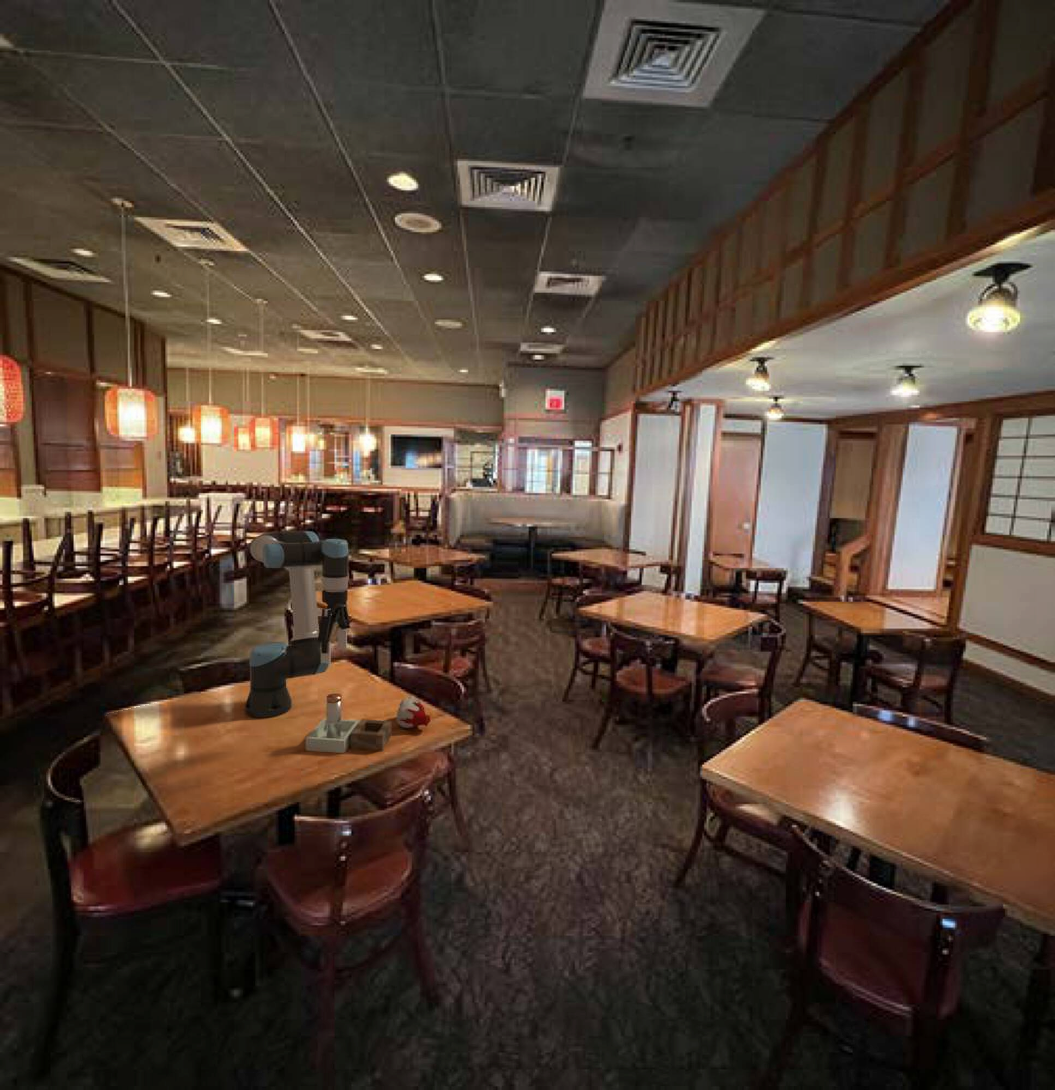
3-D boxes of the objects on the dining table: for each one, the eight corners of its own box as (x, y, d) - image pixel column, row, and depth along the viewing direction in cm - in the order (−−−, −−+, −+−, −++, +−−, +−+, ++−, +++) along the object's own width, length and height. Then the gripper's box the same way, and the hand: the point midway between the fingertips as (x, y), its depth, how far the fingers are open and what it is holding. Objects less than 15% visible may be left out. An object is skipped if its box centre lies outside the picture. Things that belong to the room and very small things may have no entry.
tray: (324, 729, 184) (324, 718, 184) (359, 731, 184) (359, 720, 183) (305, 750, 170) (305, 738, 170) (344, 753, 170) (344, 740, 169)
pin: (329, 733, 179) (330, 692, 177) (342, 734, 179) (343, 693, 177) (324, 740, 175) (324, 698, 173) (337, 741, 175) (338, 699, 173)
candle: (403, 712, 198) (438, 727, 193) (383, 724, 188) (418, 740, 182) (407, 689, 197) (441, 704, 191) (386, 700, 187) (422, 716, 181)
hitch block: (361, 733, 183) (361, 719, 182) (391, 735, 182) (391, 721, 182) (350, 748, 173) (350, 733, 172) (382, 750, 173) (382, 735, 172)
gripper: (338, 580, 183) (337, 642, 186) (305, 597, 158) (305, 668, 161) (360, 582, 183) (359, 643, 186) (331, 599, 158) (330, 670, 161)
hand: (334, 655), depth 173 cm, fingers open, 13 cm apart
